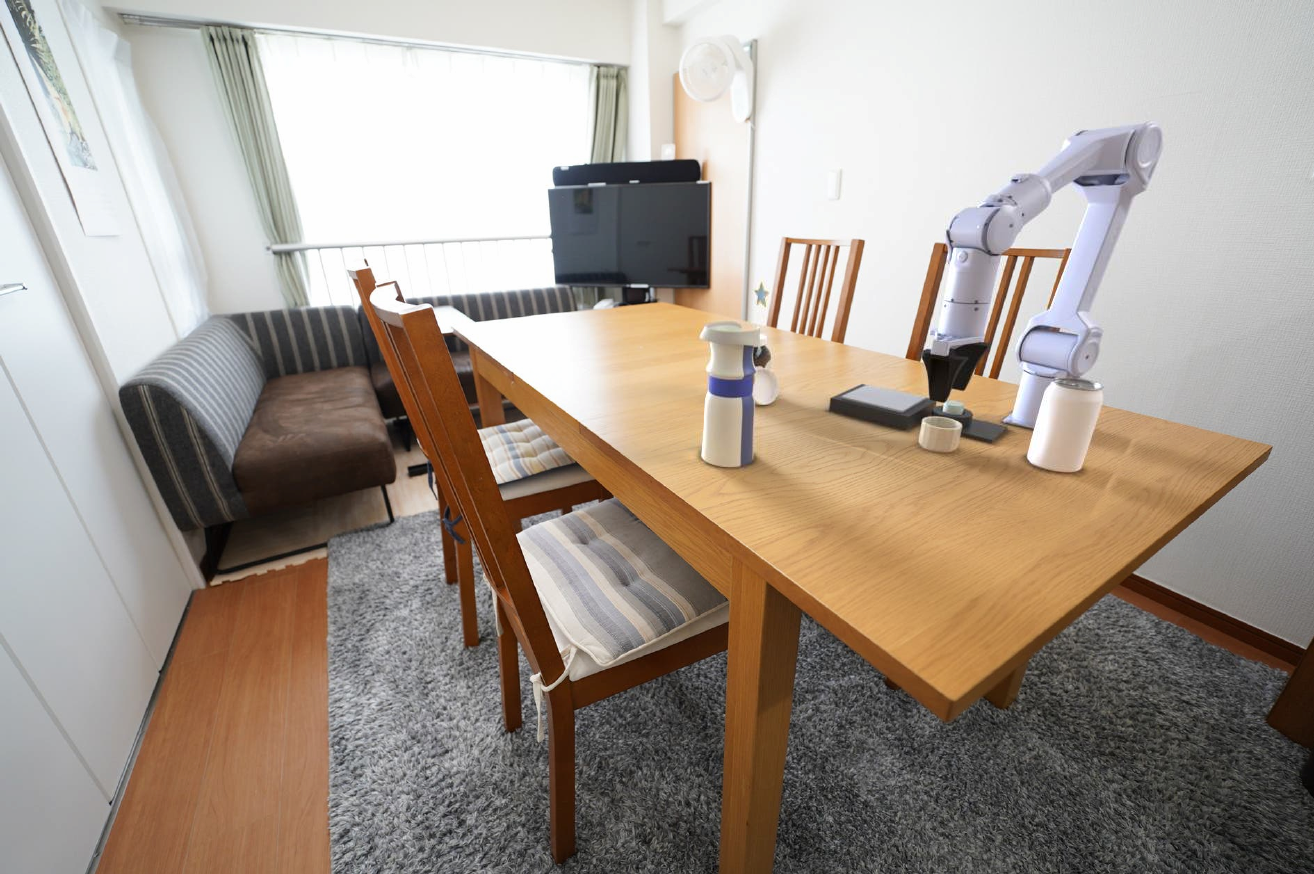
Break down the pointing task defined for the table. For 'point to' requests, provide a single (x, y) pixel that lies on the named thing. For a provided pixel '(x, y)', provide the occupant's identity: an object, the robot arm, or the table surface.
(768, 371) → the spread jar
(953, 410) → the button
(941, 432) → the bowl
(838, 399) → the scale
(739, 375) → the water bottle
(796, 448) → the table surface
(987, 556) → the table surface
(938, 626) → the table surface
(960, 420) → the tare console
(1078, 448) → the can
